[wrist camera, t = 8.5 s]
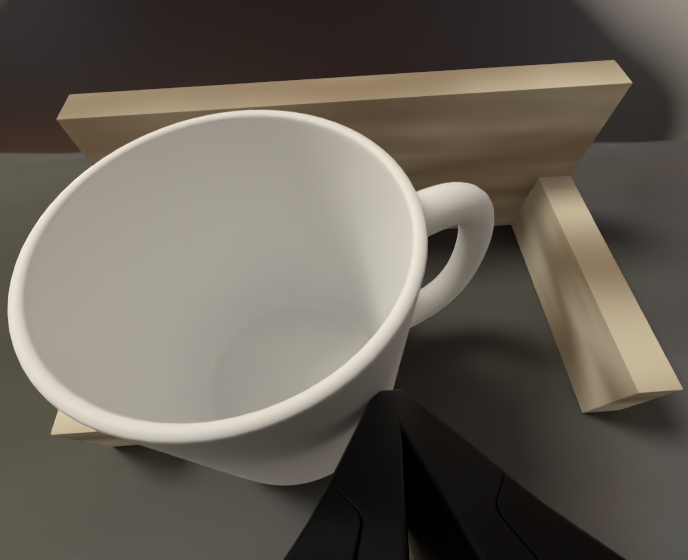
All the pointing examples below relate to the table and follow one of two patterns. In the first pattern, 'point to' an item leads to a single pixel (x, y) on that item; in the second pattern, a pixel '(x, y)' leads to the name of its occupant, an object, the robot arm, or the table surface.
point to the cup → (236, 289)
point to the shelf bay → (458, 166)
